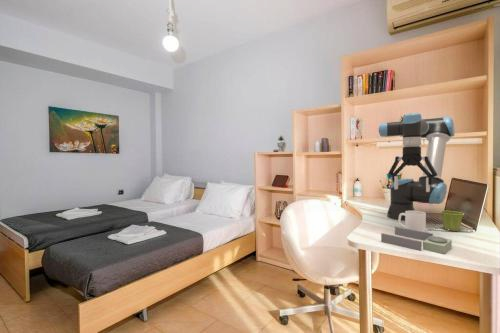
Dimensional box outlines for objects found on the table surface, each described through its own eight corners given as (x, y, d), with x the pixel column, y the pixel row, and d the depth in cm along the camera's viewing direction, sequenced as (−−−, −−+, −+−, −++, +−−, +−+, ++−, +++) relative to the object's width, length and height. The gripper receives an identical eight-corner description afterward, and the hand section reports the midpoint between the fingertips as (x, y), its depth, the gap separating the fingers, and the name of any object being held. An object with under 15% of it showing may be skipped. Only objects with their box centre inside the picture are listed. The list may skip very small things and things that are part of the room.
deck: (395, 233, 123) (395, 225, 123) (453, 245, 107) (453, 236, 106) (381, 241, 113) (381, 232, 113) (442, 255, 96) (442, 245, 96)
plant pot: (448, 226, 134) (448, 209, 134) (468, 231, 126) (469, 213, 125) (435, 228, 132) (435, 211, 131) (455, 233, 123) (455, 215, 122)
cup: (420, 237, 118) (420, 215, 118) (394, 230, 128) (394, 210, 128) (428, 233, 123) (429, 212, 122) (402, 228, 133) (402, 208, 132)
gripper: (381, 147, 131) (381, 188, 132) (441, 145, 112) (440, 193, 113) (387, 147, 135) (387, 187, 136) (445, 145, 116) (445, 191, 117)
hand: (411, 190), depth 124 cm, fingers open, 13 cm apart
